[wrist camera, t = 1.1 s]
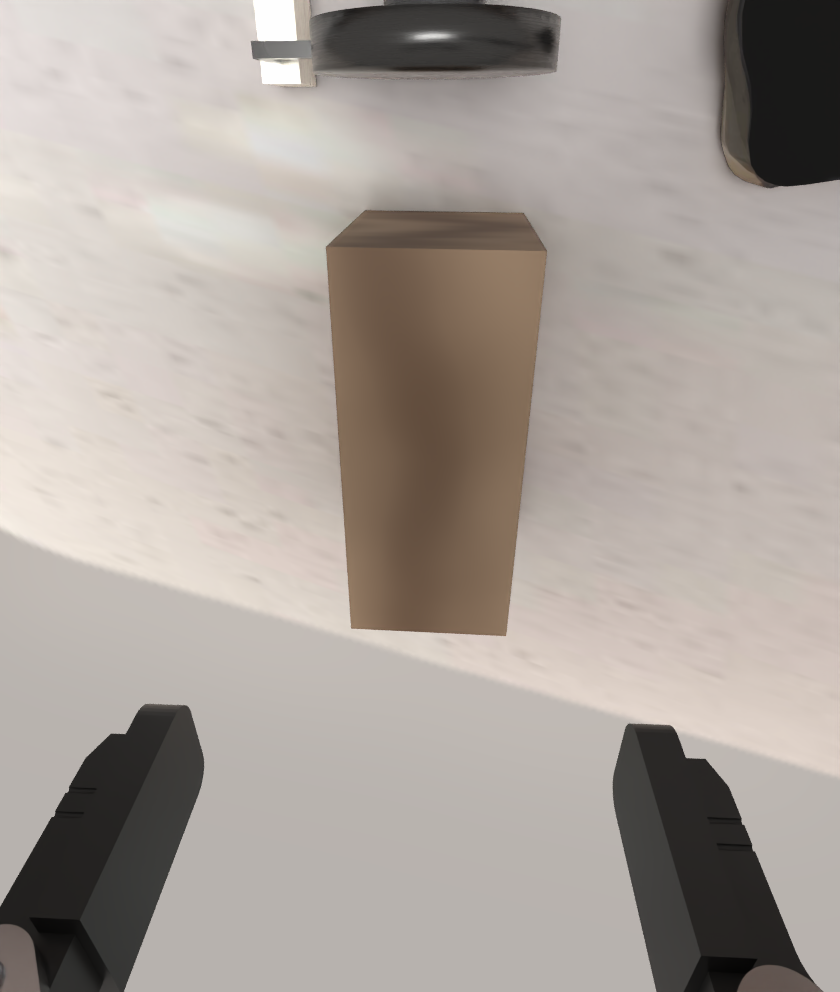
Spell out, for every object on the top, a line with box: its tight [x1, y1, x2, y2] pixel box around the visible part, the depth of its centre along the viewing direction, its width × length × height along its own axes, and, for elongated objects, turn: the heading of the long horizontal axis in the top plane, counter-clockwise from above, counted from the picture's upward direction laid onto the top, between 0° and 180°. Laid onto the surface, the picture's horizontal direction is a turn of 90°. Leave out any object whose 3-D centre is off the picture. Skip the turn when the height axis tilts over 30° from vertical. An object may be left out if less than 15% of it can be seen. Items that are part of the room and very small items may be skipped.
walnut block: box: [326, 210, 547, 636], centre depth 24 cm, size 6×14×8 cm, turn 0°
